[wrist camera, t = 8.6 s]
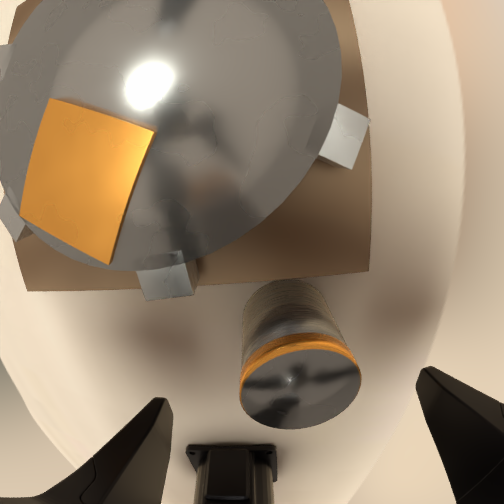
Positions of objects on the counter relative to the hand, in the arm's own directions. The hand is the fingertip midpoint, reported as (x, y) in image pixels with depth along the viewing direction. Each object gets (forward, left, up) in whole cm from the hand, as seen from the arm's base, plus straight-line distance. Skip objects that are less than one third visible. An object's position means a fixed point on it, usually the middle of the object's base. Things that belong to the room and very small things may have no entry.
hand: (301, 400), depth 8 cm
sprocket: (+11, +5, -4) cm, 13 cm away
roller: (0, 0, -5) cm, 5 cm away
